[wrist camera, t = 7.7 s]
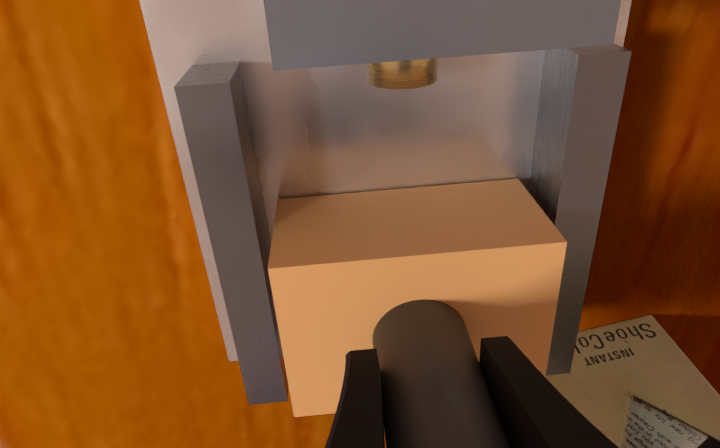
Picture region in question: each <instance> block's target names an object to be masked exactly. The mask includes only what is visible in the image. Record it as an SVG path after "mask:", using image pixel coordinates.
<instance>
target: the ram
mask: <svg viewBox="0 0 720 448" xmlns="http://www.w3.org/2000/svg"><path fill="white" fill-rule="evenodd" d="M566 246H567V241H566V240H565V238H564V237H563V236H562V235H561V233H560V232H559V231H558V229H557V228H556V227H555V226H554V224H553V223H552V222H551V220H550V219H549V218H548V217H547V215H546V214H545V213H544V211H543V210H542V209H541V208H540V206H539V205H538V204H537V202H536V201H535V200H534V199H533V197H532V196H531V195H530V193H529V192H528V191H527V190H526V188H525V187H524V186H523V184H522V183H521V182H520V181H519V179H508V180H496V181H485V182H473V183H461V184H450V185H438V186H426V187H415V188H403V189H392V190H380V191H368V192H357V193H345V194H333V195H322V196H310V197H298V198H287V199H277V205H276V212H275V220H274V227H273V234H272V241H271V249H270V256H269V263H268V273H269V279H270V284H271V290H272V296H273V301H274V307H275V312H276V318H277V324H278V329H279V335H280V341H281V346H282V352H283V357H284V363H285V369H286V374H287V380H288V385H289V391H290V397H291V402H292V408H293V413H294V417H301V416H311V415H321V414H331V413H336V410H337V406H338V403H339V399H340V394H341V390H342V385H343V379H344V373H345V363H346V354H347V353H348V352H349V351H353V350H364V349H374V348H376V349H377V354H378V360H379V366H380V371H381V387H382V406H383V423H384V431H385V438H386V446H387V448H510V445H509V443H508V440H507V437H506V434H505V432H504V429H503V426H502V424H501V421H500V418H499V415H498V413H497V410H496V407H495V405H494V402H493V399H492V396H491V394H490V391H489V388H488V386H487V383H486V380H485V377H484V375H483V372H482V369H481V366H480V364H479V358H480V344H481V338H489V337H500V336H508V337H509V338H510V339H511V340H512V341H513V342H514V343H515V344H516V345H517V347H518V348H519V349H520V350H521V351H522V352H523V353H524V355H525V356H526V357H527V358H528V359H529V360H530V361H531V362H532V363H533V365H534V366H535V367H536V368H537V369H538V370H539V371H540V372H541V373H542V374H543V375H544V376H545V377H546V371H547V365H548V358H549V352H550V346H551V340H552V334H553V327H554V321H555V315H556V309H557V302H558V296H559V290H560V284H561V277H562V271H563V265H564V259H565V253H566Z"/></svg>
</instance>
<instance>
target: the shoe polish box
mask: <svg viewBox="0 0 720 448" xmlns="http://www.w3.org/2000/svg"><path fill="white" fill-rule="evenodd" d="M546 379H547V380H548V381H549V382H550V383H551V384H552V385H553V386H554V387H555V388H556V389H557V390H558V391H559V392H560V393H561V394H562V395H563V396H564V397H565V398H566V399H567V400H568V401H569V402H570V403H571V404H572V405H573V406H574V407H575V408H576V409H577V410H578V411H579V412H580V413H581V414H582V415H583V416H584V417H585V418H587V419H588V420H589V421H590V422H591V423H592V424H593V425H594V426H595V427H596V428H597V429H599V430H600V431H601V432H602V433H603V434H604V435H605V436H606V437H607V438H608V439H610V440H611V441H612V442H613V443H614V444H615V445H617V446H618V447H619V448H720V395H719V394H718V393H717V392H716V390H715V389H714V388H713V387H712V386H711V384H710V383H709V382H708V381H707V380H706V379H705V377H704V376H703V375H702V374H701V373H700V371H699V370H698V369H697V368H696V367H695V366H694V364H693V363H692V362H691V361H690V360H689V358H688V357H687V356H686V355H685V354H684V353H683V351H682V350H681V349H680V348H679V347H678V345H677V344H676V343H675V342H674V341H673V340H672V338H671V337H670V336H669V335H668V334H667V332H666V331H665V330H664V329H663V328H662V327H661V325H660V324H659V323H658V322H657V321H656V320H655V318H654V317H653V316H652V315H648V316H643V317H639V318H635V319H631V320H626V321H622V322H618V323H614V324H610V325H605V326H601V327H597V328H593V329H588V330H584V331H580V332H578V334H577V339H576V345H575V350H574V355H573V360H572V365H571V371H570V373H567V374H557V375H546Z"/></svg>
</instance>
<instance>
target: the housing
mask: <svg viewBox="0 0 720 448" xmlns="http://www.w3.org/2000/svg"><path fill="white" fill-rule="evenodd" d="M263 1H264V9H265V16H266V23H267V30H268V38H269V45H270V52H271V59H272V66H273V71H276V70H289V69H302V68H315V67H328V66H341V65H354V64H367V63H368V76H369V83H370V84H371V85H372V86H375V87H378V88H383V89H395V90H401V89H414V88H421V87H425V86H428V85H431V84H433V83H435V82H436V81H437V80H438V58H446V57H459V56H472V55H485V54H498V53H511V52H524V51H537V50H550V49H563V48H576V47H590V46H603V45H614V39H615V33H616V27H617V22H618V16H619V10H620V5H621V0H263Z"/></svg>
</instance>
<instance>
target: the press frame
mask: <svg viewBox="0 0 720 448" xmlns="http://www.w3.org/2000/svg"><path fill="white" fill-rule="evenodd" d="M139 1H140V5H141V9H142V13H143V17H144V21H145V25H146V29H147V33H148V37H149V41H150V45H151V49H152V53H153V57H154V61H155V65H156V69H157V73H158V77H159V82H160V86H161V90H162V94H163V98H164V102H165V106H166V110H167V114H168V118H169V122H170V126H171V130H172V134H173V138H174V142H175V146H176V150H177V154H178V158H179V162H180V166H181V170H182V174H183V178H184V182H185V186H186V190H187V194H188V198H189V202H190V206H191V210H192V214H193V218H194V222H195V226H196V230H197V234H198V238H199V242H200V246H201V250H202V254H203V258H204V262H205V266H206V270H207V274H208V278H209V282H210V286H211V291H212V295H213V299H214V303H215V307H216V311H217V315H218V319H219V323H220V327H221V331H222V335H223V339H224V343H225V347H226V351H227V355H228V359H229V361H238V360H239V364H240V369H241V373H242V377H243V381H244V386H245V390H246V394H247V398H248V403H249V405H251V404H261V403H271V402H282V401H287V400H288V380H287V374H286V369H285V363H284V357H283V352H282V346H281V341H280V335H279V329H278V324H277V318H276V312H275V307H274V301H273V296H272V290H271V284H270V279H269V273H268V263H269V256H270V249H271V241H272V234H273V227H274V220H275V212H276V205H277V199H287V198H298V197H310V196H322V195H333V194H345V193H357V192H368V191H380V190H392V189H403V188H415V187H426V186H438V185H450V184H461V183H473V182H485V181H496V180H508V179H519V181H520V182H521V183H522V184H523V186H524V187H525V188H526V190H527V191H528V192H529V193H530V195H531V196H532V197H533V199H534V200H535V201H536V202H537V204H538V205H539V206H540V208H541V209H542V210H543V211H544V213H545V214H546V215H547V217H548V218H549V219H550V220H551V222H552V223H553V224H554V226H555V227H556V228H557V229H558V231H559V232H560V233H561V235H562V236H563V237H564V238H565V240H566V241H567V246H566V253H565V259H564V265H563V271H562V277H561V284H560V290H559V296H558V302H557V309H556V315H555V321H554V327H553V334H552V340H551V346H550V352H549V358H548V365H547V371H546V375H557V374H567V373H570V371H571V365H572V360H573V355H574V350H575V345H576V339H577V334H578V329H579V324H580V318H581V313H582V308H583V303H584V298H585V292H586V287H587V282H588V277H589V271H590V266H591V261H592V256H593V251H594V245H595V240H596V235H597V230H598V224H599V219H600V214H601V209H602V204H603V198H604V193H605V188H606V183H607V178H608V172H609V167H610V162H611V157H612V151H613V146H614V141H615V136H616V131H617V125H618V120H619V115H620V110H621V104H622V99H623V94H624V89H625V84H626V78H627V73H628V68H629V63H630V57H631V52H632V51H631V50H628V49H626V48H624V47H623V45H624V40H625V34H626V29H627V24H628V18H629V13H630V7H631V2H632V0H621V5H620V10H619V16H618V22H617V27H616V33H615V39H614V45H603V46H590V47H576V48H563V49H550V50H537V51H524V52H511V53H498V54H485V55H472V56H459V57H446V58H438V80H437V81H436V82H435V83H433V84H431V85H428V86H425V87H421V88H414V89H401V90H395V89H383V88H378V87H375V86H372V85H371V84H370V83H369V76H368V63H367V64H354V65H341V66H328V67H315V68H302V69H289V70H276V71H273V66H272V59H271V52H270V45H269V38H268V30H267V23H266V16H265V9H264V1H263V0H139Z"/></svg>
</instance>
